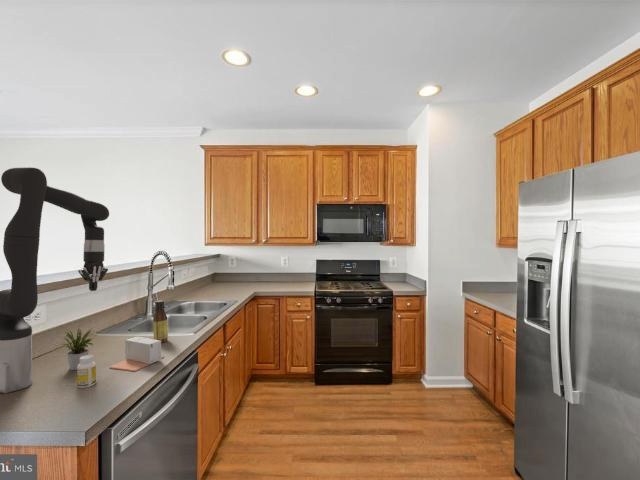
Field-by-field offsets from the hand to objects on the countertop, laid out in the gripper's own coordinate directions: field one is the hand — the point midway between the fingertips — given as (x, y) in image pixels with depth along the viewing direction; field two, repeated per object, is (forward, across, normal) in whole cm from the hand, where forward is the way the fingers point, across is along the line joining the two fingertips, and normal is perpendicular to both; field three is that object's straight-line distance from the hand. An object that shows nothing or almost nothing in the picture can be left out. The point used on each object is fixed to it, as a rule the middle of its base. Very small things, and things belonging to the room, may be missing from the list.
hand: (93, 290), depth 148 cm
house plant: (+29, -13, -6) cm, 32 cm away
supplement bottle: (+29, -23, -24) cm, 44 cm away
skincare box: (+23, +2, -18) cm, 29 cm away
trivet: (+28, -1, -25) cm, 38 cm away
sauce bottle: (+27, +25, -14) cm, 40 cm away
